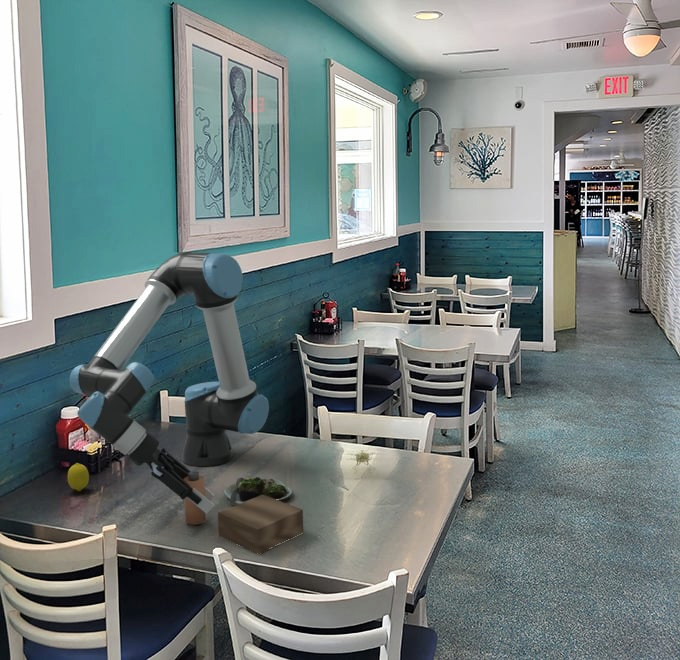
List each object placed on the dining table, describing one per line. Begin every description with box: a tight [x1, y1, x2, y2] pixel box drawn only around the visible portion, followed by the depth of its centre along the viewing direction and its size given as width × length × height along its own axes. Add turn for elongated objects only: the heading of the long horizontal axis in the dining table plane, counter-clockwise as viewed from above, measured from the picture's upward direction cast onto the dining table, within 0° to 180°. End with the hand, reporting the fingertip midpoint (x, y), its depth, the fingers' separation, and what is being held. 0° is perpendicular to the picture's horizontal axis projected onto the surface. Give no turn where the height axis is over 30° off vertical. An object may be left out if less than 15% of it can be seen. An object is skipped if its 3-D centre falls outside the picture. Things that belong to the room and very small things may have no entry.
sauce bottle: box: [183, 470, 207, 525], centre depth 184 cm, size 5×5×12 cm
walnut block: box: [217, 495, 304, 555], centre depth 178 cm, size 14×14×6 cm
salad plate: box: [224, 476, 293, 506], centre depth 202 cm, size 19×18×5 cm
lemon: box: [67, 462, 90, 492], centre depth 206 cm, size 6×6×8 cm
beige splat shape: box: [346, 445, 380, 474], centre depth 217 cm, size 10×13×8 cm
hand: (210, 504), depth 185 cm, fingers closed on sauce bottle, 5 cm apart
